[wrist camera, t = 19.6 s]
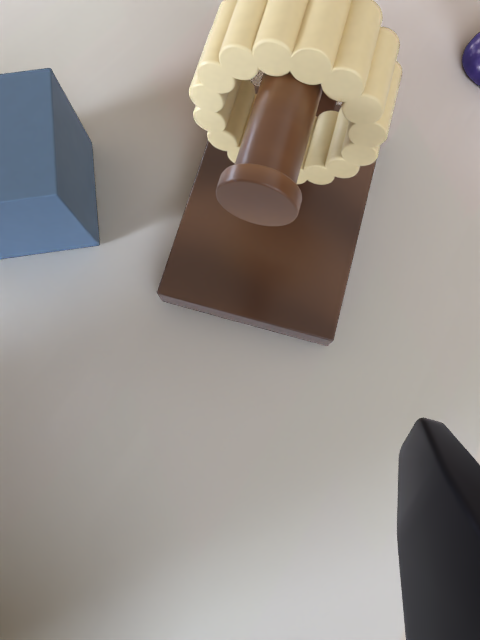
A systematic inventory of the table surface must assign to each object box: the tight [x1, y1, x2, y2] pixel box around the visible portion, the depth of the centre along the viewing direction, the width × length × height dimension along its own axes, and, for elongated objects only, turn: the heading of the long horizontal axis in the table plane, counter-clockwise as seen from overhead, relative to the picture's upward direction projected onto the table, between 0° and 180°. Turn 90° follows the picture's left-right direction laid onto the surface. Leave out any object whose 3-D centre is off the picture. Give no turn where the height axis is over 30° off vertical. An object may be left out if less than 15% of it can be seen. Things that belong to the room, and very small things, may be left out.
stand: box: [157, 72, 376, 346], centre depth 18 cm, size 13×9×13 cm
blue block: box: [0, 68, 100, 259], centre depth 22 cm, size 6×6×6 cm
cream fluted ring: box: [189, 0, 402, 185], centre depth 15 cm, size 3×7×7 cm, turn 74°
